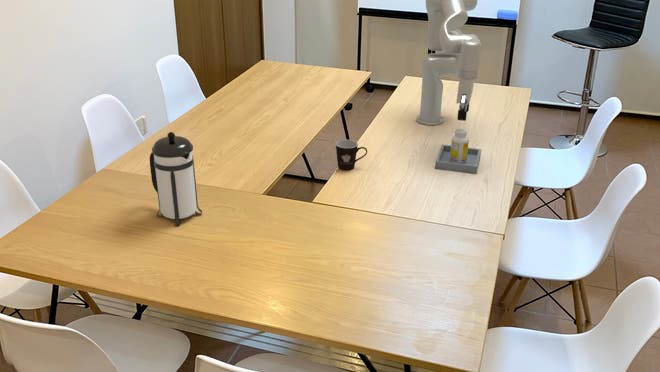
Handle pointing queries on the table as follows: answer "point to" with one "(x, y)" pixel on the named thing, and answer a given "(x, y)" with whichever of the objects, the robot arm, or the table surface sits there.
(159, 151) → the coffee press
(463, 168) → the tray
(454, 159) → the supplement bottle
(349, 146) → the coffee mug
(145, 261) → the table surface
